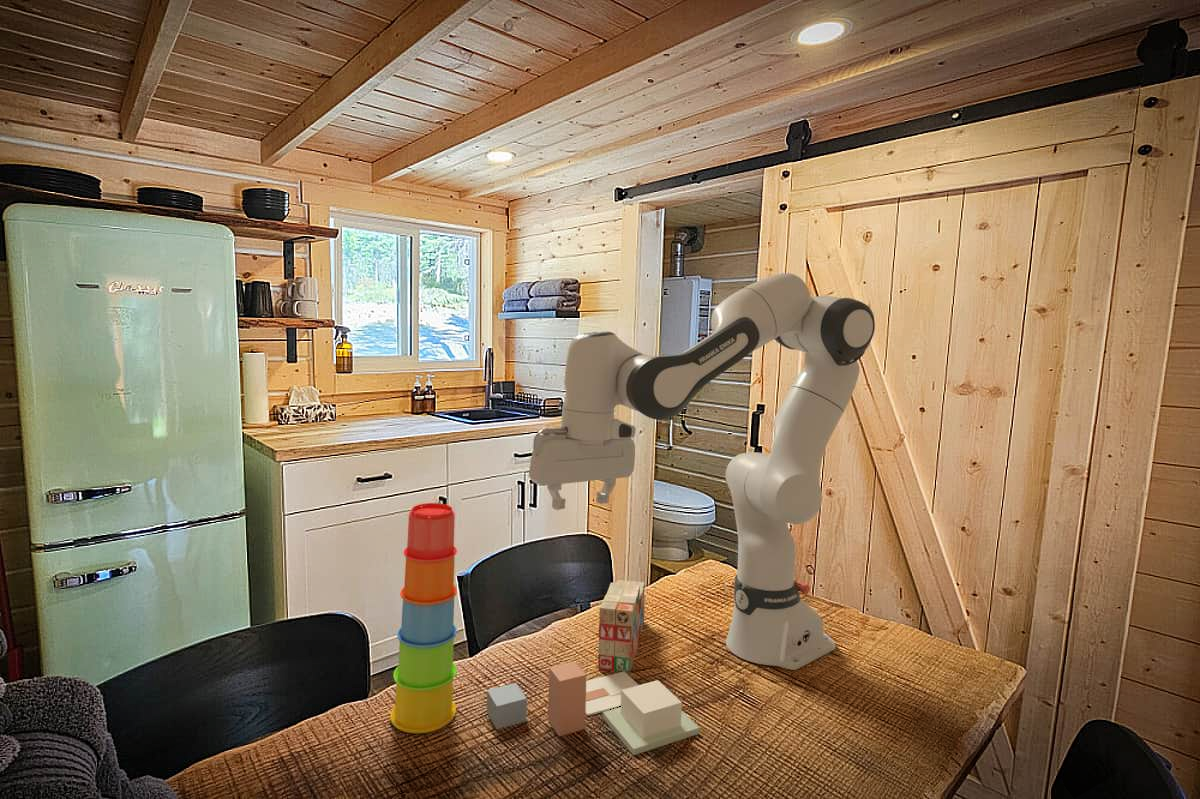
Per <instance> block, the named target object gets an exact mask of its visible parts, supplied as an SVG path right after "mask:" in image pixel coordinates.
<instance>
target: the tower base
mask: <svg viewBox="0 0 1200 799" xmlns="http://www.w3.org/2000/svg"><path fill="white" fill-rule="evenodd" d="M682 706H683V702H682V701H681V700H680V699H679V698H678V697H677V696H675V694H673V693H672V691H670V689H668V688H667V687H666V686H665V685H664V684H663V683H661V681H660V680H658V679H656V680H653V681H650V682H646V683H642V684H638V686H634V687H630V688H627V689H623V690H621V707H618V708H614V709H611V710H607V711H604V712H602V719H603V720H604V722H605V723H606V724H607V725H608V726H609V728H610V729H611V730H612V732H613V733H615V735H616V736H617V738H619V740H620V741H621V742H622V744H623V745H624V746H625V747H626V749H628V751H629V752H630V753H631V755H632V756H636V755H639V754H641V753H644V752H648V751H651V750H654V749H657V748H660V747H663V746H666V745H670V744H672V743H675V742H678V741H681V740H684V739H688V738H690V737H694V736H696V735H699V734H700V728H701V727H700V726H698V724H696V722H694V720H693V719H691V718H690V717H689V716H688V715H687V714H686V713H685V712H684V711H683V710H682Z"/></svg>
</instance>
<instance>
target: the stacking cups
mask: <svg viewBox="0 0 1200 799" xmlns="http://www.w3.org/2000/svg"><path fill="white" fill-rule="evenodd" d="M455 518H456V517H455V511H454V510H453V507H452V506H450V505H448V504H446V503H445V504H444V503H440V502H439V503H437V502H434V503H433V502H429V503H428V502H427V503H421V504H416V505H414V506H412V508H411V510H410V511H409V513H408V525H407V526H408V528H407V544H406V545H407V546H406V548H404V550H403V555H404V557H405V568H404V569H405V570H404V571H405V572H404V584H403V585H404V586H403V587H402V588H401V590H400V598H401V599H402V608H401V626H400V628H399V629H398V630H397V634H396V635H397V636H396V637H397V640H398V641H399V644H398V645H399V648H398V649H399V650H398V666H397V667H396V668H395V670H394V672H393V680H394V682H395V683H396V684H395V699H394V700H395V704H394V706H393V708H392V709H391V711H390V715H389V716H390V717H389V718H390V722H391V723H392V726H394V727H395V728H396V729H397V730H399V731H401V732H405V733H407V734H408V733H409V734H427V733H428V734H429V733H432V732H434V731H437V730H440V729H442V728H444V727H446V726H447V725H448V724H449V723H450V722H452V720H453V719H454V717H455V716H456V712H457V706H456V703H455V702H454V700H453V680H454V679H455V677H456V675H457V671H458V670H457V666H456V664H455V663H454V639H455V637H456V636H457V633H458V632H457V627H456V625H455V624H454V620H455V619H454V618H455V616H454V615H455V597H456V595H457V594H458V588H457V586H455V585H454V584H455V582H454V581H455V557H456V554H457V552H458V550H457V547H456V546H455Z"/></svg>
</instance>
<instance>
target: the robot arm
mask: <svg viewBox="0 0 1200 799" xmlns="http://www.w3.org/2000/svg"><path fill="white" fill-rule="evenodd" d="M710 320H711V321H710V322H711V331H712V333H711V334H709V335H708V336H707V337H705V338H703V339H701V340H700V341H699V342H696V343H695V344H694V345H692V346H691V347H689V348H687V349H686V350H684V351H683V352H680V353H678V354H674V355H661V356H660V355H659V356H655V355H648V354H644V353H642V352H641V351H638V350H637V349H634V348H632V346H629V345H628V344H626V343H625V342H623V341H622V339H620V338H619V337H618V336H617V334H616V333H614V332H611V331H593V332H584V333H581V334H578V335H576V336H575V337H574V338H572V340H571V341H570V343H569V347H568V351H567V356H566V362H565V369H564V388H565V397H564V401H563V404H562V410H561V421H560V423H561V424H560V427H552V428H550V427H544V428H542V429H541V430H539V431H538V432H537V433H536V434H535V435H534V437H533V444H532V446H533V447H532V453H531V458H530V462H529V463H530V464H529V470H528V477H529V479H530V480H531V482H533V483H534V484H537V485H538V486H544V487H545V486H547V487H546V488H547V490H548V492H549V494H550V496H551V498H552V500H551V503H552V504H551V507H552V509H554V510H555V511H559V510H560V511H561V510H564V509H565V508H566V499H565V498H563V497H561V493H560V492H559V491H561V490H562V486H563V485H564V484H571V483H573V484H574V483H584V482H593V481H601V482H602V483H603V485H602V488H601V489H600V491H597V492H596V499H595V500H596V503H598V504H601V505H604V504H609V502H610V494H611V492H613V489H614V488H615V486H616V485H617V484H616V483H617V479H623V478H625V479H626V478H629V477H630V476H632V474H633V473H634V470H635V464H636V463H635V462H636V444H635V442H634V440H633V439H634V438H635V437H636V432H637V429H636V427H635V426H634V425H632V424H629V423H627V422H624V421H622V420H619V419H618V418H614V417H615V408H616V406H618V405H619V406H620V405H622V406H624V407H626V408H629V409H631V410H634V411H636V412H639V413H641V414H642V415H643V416H646V417H647V418H650V419H652V420H660V421H661V420H669V419H671V418H673V417H675V416H678V415H679V414H680V413H681V412H682V411H684V409H685V408H686V407H687V406H688V405H689V404H690V402H691V401H692V400H693V398H694V397H695V396H696V394H697V393H698V392H699V391H700V390H701V389H702V388H703V387H704V386H706V385H707V384H708V383H710V382H711V381H713V380H714V379H716V378H717V377H719V376H720V375H722V374H723V373H724V372H726V371H728V370H729V369H730V368H732V367H734V365H736V364H738V363H739V362H740V361H742V360H743V359H744V358H745V357H747V356H748V355H749V354H751V353H752V352H754V351H756V350H758V349H760V348H761V347H763V346H765V345H767V344H769V343H770V342H772V341H774V340H775V341H776V343H778V344H779V345H780V346H783V347H784V348H786V349H789V350H796V351H800V352H804V362H803V366H802V369H801V370H800V372H799V374H798V375H797V376H796V378H795V380H794V381H793V383H792V385H791V386H790V388H789V390H788V392H787V393H786V396H785V397H784V399H783V401H782V403H781V405H780V407H779V409H778V410H777V412H776V414H775V416H774V418H773V421H772V427H773V430H774V431H773V432H774V433H773V440H772V445H771V449H770V451H769V454H766V453H763V452H759V451H758V452H757V451H755V452H752V451H751V452H742V453H739V454H737V455H735V456H734V457H733V458H732V459H731V460H730V461H729V462H728V465H727V466H726V469H725V470H726V471H725V482H726V485H727V487H728V489H729V491H730V495H731V499H732V506H733V512H734V519H735V525H736V529H737V541H738V543H737V545H738V546H737V568H736V569H737V573H736V574H735V576H734V584H733V585H734V586H733V587H734V588H733V589H734V590H733V595H734V596H733V597H734V606H733V611H732V616H731V621H730V625H729V630H728V633H727V636H726V640H725V644H726V645H725V646H726V648H727V649H728V650H729V651H730V652H731V653H732V654H734V655H735V656H737V657H739V658H741V659H742V660H745V661H748V662H751V663H755V664H759V665H766V666H774V667H775V666H776V667H779V668H783V669H787V670H792V671H796V670H798V669H800V668H802V667H804V666H807V665H808V664H810V663H812V662H813V661H816V660H817V659H819V658H821V657H823V656H825V655H827V654H829V653H830V652H832V651H834V650H836V649H837V647H836V642H835V641H834V640H833V639H832V638H831V636H829V635H828V634H827V633H826V632H824V630H825V629H824V621H823V619H822V616H821V615H820V614H819V613H818V612H817V611H816V610H815V609H814V608H813V607H812V606H810V605H809V604H808V603H807V602H805V601H804V600H803V599H802V598H801V597H800V592H801V593H802V594H804V595H808V594H809V592H810V591H811V586H810V584H808V583H804V582H803V581H799V582H797V581H796V579H795V574H796V573H795V570H796V569H795V568H796V553H797V550H796V548H797V547H796V543H795V539H794V537H793V535H792V533H791V531H790V528H789V524H791V525H801V524H805V523H807V522H809V521H811V520H812V519H813V518H814V517H816V515H817V514H818V512H819V511H820V509H821V507H822V502H823V492H822V488H821V484H820V472H821V467H822V461H823V456H824V453H825V451H826V448H827V446H828V444H829V442H830V439H831V437H832V435H833V433H834V431H835V430H836V427H837V425H838V423H839V422H840V420H841V418H842V416H843V415H844V413H845V411H846V408H847V407H848V404H849V402H850V400H851V398H852V396H853V392H854V390H855V388H856V385H857V382H858V378H859V375H860V369H861V368H860V365H859V362H858V360H860V359H861V358H862V357H863V355H864V354H865V352H866V350H867V348H869V346H870V344H871V343H872V342H871V341H872V339H873V336H874V335H875V334H874V333H875V328H876V323H875V316H874V313H873V311H872V309H871V307H870V306H869V305H867V304H866V303H864V302H862V301H860V300H857V299H855V298H849V297H844V298H843V297H836V296H829V295H827V296H826V295H819V296H811V293H810V289H809V287H808V285H807V284H806V283H805V281H804V280H803V278H801V277H800V276H798V275H796V274H794V273H791V272H782V273H778V274H777V273H776V274H774V275H771V276H768V277H766V278H763V279H760V280H757V281H755V282H753V283H750V284H748V285H747V286H745V287H743V288H740V289H739V290H737V291H735V292H734V293H732V294H730V295H729V296H728V297H726V298H724V299H723V300H722V301H721V302H720V303H719V304H718V305H717V306H715V307H714V309H713V312H712V315H711V319H710Z"/></svg>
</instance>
